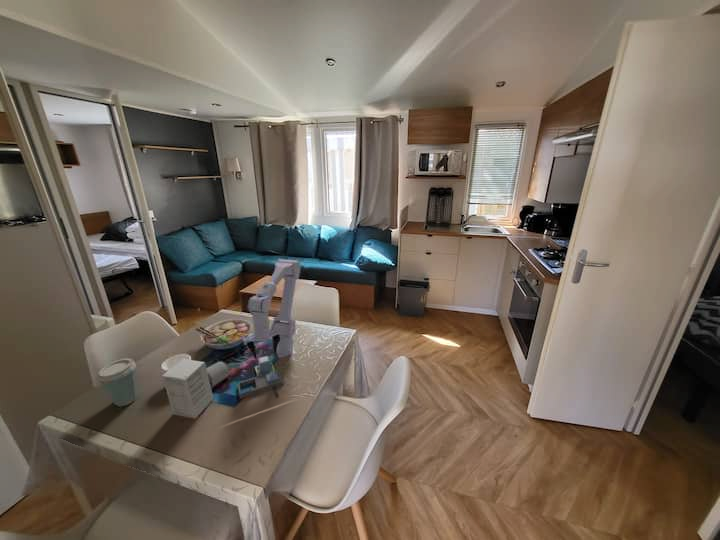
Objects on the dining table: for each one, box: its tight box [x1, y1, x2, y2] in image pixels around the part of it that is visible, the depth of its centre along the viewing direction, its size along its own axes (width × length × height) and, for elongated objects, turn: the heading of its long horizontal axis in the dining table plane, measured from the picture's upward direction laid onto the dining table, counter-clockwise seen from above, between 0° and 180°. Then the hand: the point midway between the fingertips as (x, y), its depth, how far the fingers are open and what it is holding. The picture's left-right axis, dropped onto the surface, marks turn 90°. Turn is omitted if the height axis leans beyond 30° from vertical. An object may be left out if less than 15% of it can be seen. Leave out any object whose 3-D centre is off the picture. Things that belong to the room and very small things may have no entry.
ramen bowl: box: [195, 318, 253, 350], centre depth 134 cm, size 25×23×8 cm
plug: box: [257, 355, 271, 375], centre depth 115 cm, size 4×4×6 cm
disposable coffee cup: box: [96, 357, 139, 407], centre depth 99 cm, size 11×11×15 cm
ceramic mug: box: [206, 361, 230, 389], centre depth 111 cm, size 11×8×8 cm
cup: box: [160, 353, 192, 374], centre depth 109 cm, size 10×10×9 cm
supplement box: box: [161, 359, 214, 419], centre depth 96 cm, size 10×9×17 cm
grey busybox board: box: [237, 369, 284, 400], centre depth 106 cm, size 12×16×3 cm
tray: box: [254, 361, 276, 377], centre depth 116 cm, size 7×7×2 cm
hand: (265, 354), depth 112 cm, fingers open, 7 cm apart
